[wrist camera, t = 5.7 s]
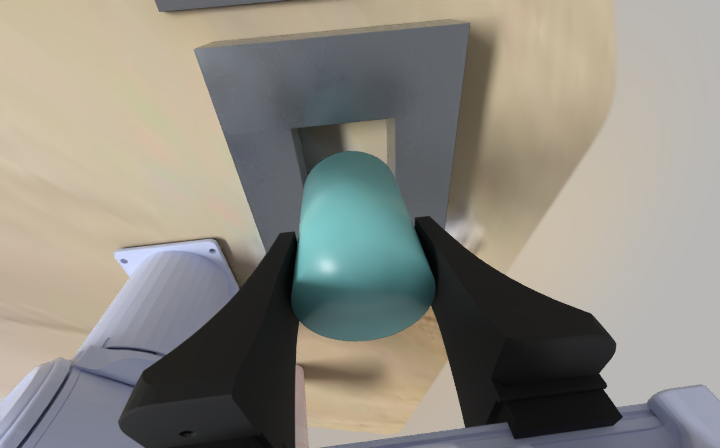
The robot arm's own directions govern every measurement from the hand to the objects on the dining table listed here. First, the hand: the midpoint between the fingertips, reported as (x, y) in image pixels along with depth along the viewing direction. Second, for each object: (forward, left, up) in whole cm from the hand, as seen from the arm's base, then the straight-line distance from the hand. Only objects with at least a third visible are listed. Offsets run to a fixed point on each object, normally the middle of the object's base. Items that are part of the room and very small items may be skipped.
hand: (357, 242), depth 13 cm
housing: (0, 0, -10) cm, 10 cm away
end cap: (0, 0, -4) cm, 4 cm away
